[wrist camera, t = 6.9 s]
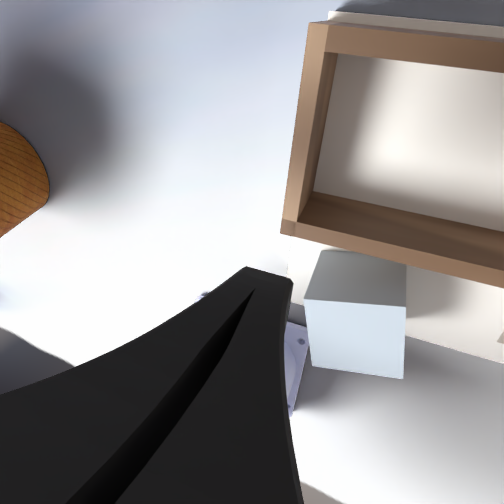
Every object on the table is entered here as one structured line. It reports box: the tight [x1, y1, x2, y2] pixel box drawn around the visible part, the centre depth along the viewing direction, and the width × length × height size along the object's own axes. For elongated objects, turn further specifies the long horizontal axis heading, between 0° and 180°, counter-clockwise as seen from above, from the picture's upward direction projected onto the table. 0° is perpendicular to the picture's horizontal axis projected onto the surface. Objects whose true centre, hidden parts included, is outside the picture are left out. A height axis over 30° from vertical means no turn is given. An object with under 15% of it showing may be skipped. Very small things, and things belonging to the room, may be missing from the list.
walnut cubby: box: [280, 21, 504, 289], centre depth 13 cm, size 7×11×3 cm
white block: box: [303, 251, 406, 379], centre depth 17 cm, size 4×4×4 cm
